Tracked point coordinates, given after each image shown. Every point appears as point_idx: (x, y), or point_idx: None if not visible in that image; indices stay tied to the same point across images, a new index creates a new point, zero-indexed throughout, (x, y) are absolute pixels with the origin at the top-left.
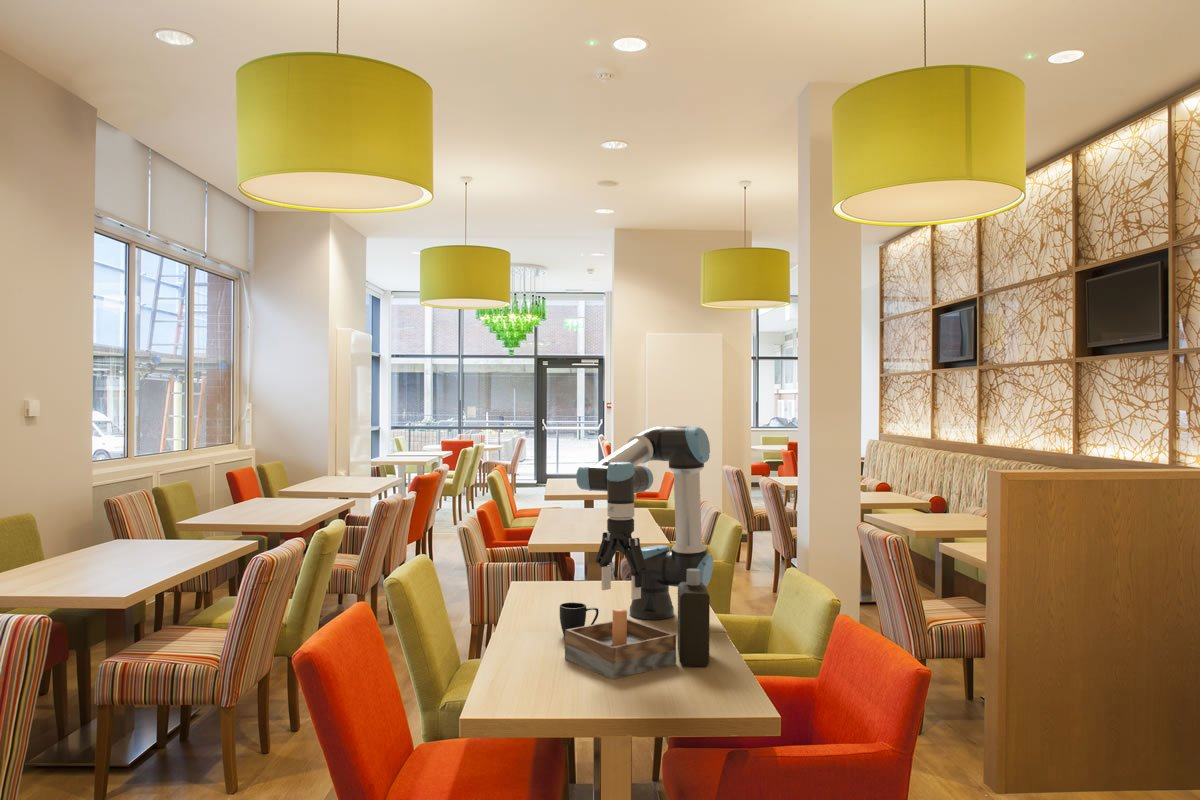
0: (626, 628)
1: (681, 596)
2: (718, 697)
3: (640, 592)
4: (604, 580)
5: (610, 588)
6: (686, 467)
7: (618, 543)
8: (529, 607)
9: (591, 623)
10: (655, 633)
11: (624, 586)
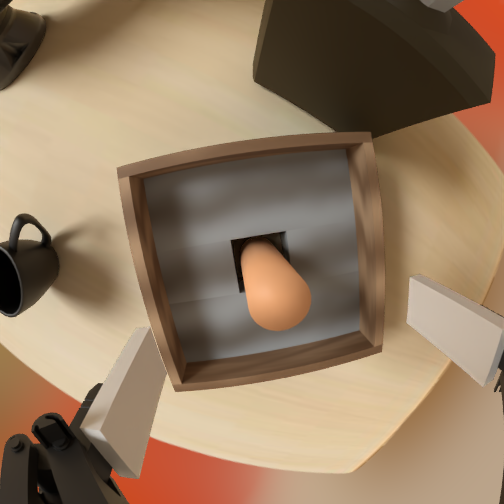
0: (288, 262)
1: (474, 106)
2: (478, 204)
3: (438, 285)
4: (152, 401)
5: (149, 329)
6: None
7: None
8: None
9: (39, 229)
10: (289, 149)
11: None
